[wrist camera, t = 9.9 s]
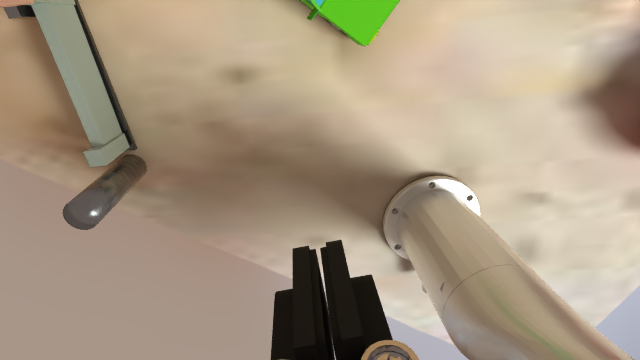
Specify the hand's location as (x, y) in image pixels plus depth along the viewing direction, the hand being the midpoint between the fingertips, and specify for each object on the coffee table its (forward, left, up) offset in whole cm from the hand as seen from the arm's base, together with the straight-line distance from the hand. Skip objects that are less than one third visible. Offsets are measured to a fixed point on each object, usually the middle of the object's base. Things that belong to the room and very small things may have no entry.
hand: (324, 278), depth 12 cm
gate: (+6, +20, -28) cm, 35 cm away
